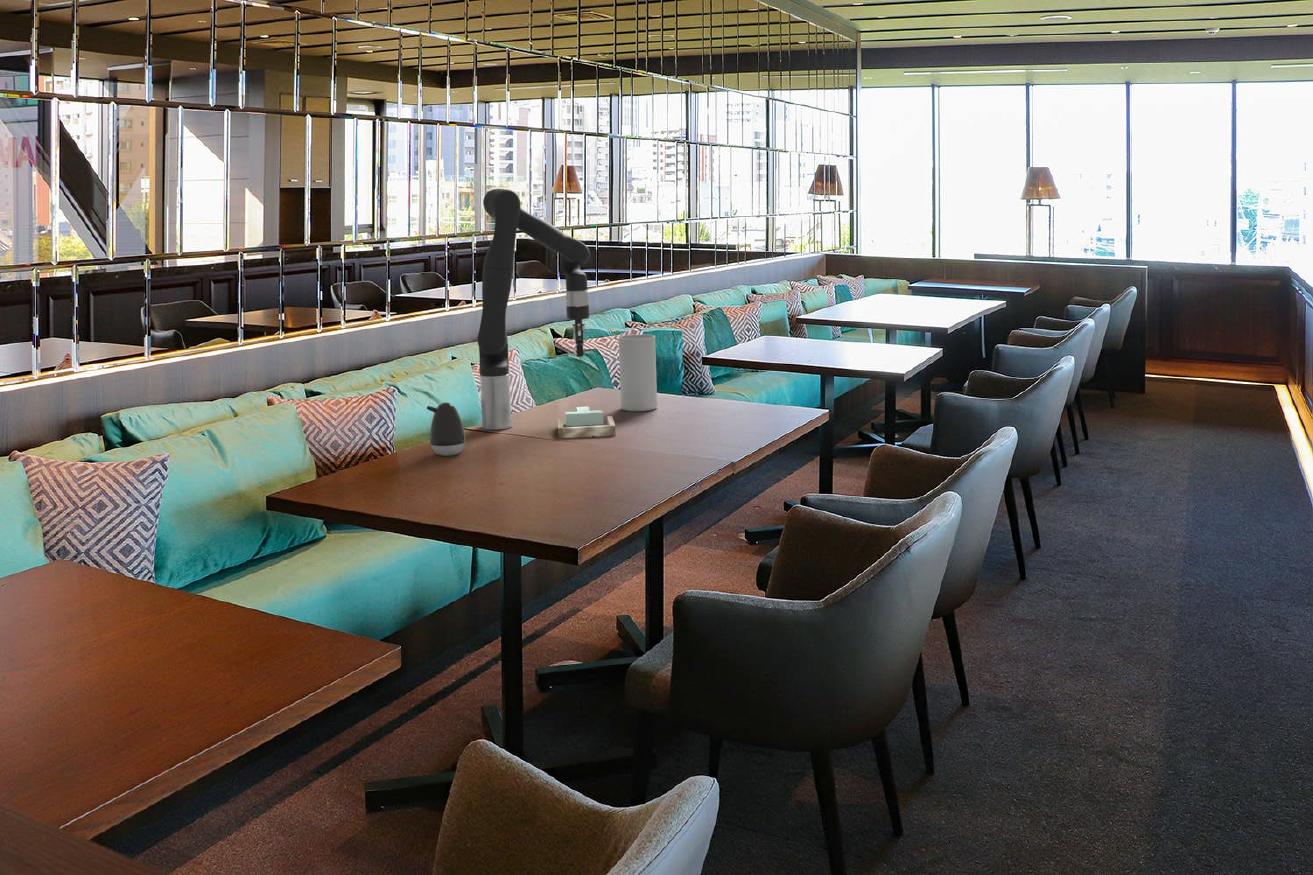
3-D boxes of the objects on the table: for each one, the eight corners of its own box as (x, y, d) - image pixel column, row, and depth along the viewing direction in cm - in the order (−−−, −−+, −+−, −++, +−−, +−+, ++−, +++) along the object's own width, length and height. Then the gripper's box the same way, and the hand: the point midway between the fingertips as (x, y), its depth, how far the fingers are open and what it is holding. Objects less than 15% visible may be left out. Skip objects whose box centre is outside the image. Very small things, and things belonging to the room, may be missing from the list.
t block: (565, 419, 369) (564, 407, 368) (601, 417, 371) (600, 406, 370) (566, 426, 358) (565, 414, 357) (603, 424, 359) (602, 412, 358)
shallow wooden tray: (558, 438, 339) (558, 428, 339) (557, 427, 355) (557, 418, 355) (615, 435, 341) (615, 425, 340) (612, 425, 357) (611, 416, 357)
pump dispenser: (432, 451, 326) (428, 400, 323) (467, 449, 327) (464, 398, 324) (427, 458, 316) (424, 406, 313) (464, 457, 317) (461, 404, 314)
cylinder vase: (656, 411, 379) (654, 338, 374) (620, 412, 379) (617, 339, 374) (657, 405, 391) (655, 334, 386) (621, 405, 391) (619, 335, 386)
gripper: (565, 303, 374) (568, 354, 377) (566, 306, 361) (569, 359, 364) (588, 302, 374) (590, 353, 378) (589, 305, 361) (592, 358, 365)
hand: (580, 356), depth 371 cm, fingers closed
